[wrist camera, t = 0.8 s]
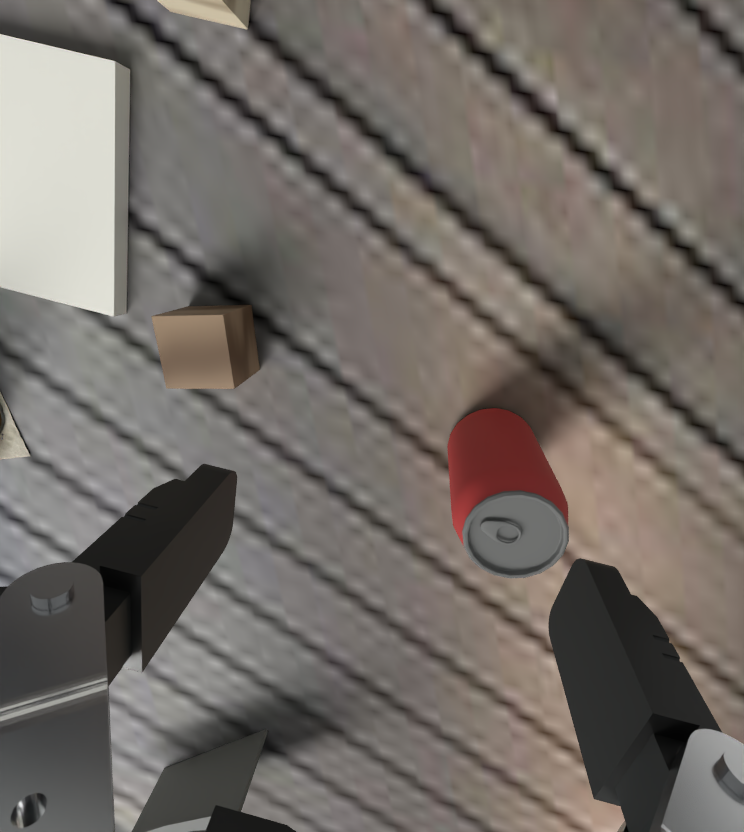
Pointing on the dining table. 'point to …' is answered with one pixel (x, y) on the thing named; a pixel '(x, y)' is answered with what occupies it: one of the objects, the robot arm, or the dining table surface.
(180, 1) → the birch cube
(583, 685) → the robot arm
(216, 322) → the walnut cube
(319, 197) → the dining table surface
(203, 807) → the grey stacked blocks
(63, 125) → the stone board
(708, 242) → the dining table surface
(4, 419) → the condiment
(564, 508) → the beer can
